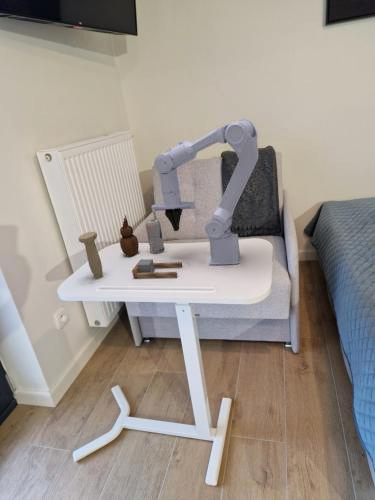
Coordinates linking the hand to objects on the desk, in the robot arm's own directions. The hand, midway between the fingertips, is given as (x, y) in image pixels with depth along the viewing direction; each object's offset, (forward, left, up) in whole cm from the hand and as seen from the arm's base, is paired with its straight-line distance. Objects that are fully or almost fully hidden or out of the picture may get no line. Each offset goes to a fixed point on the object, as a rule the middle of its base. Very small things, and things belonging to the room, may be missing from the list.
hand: (176, 230), depth 112 cm
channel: (+5, +11, -10) cm, 16 cm away
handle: (+26, +13, -11) cm, 31 cm away
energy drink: (+11, -7, -11) cm, 17 cm away
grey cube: (+9, +11, -11) cm, 18 cm away
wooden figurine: (+21, -5, -11) cm, 24 cm away
